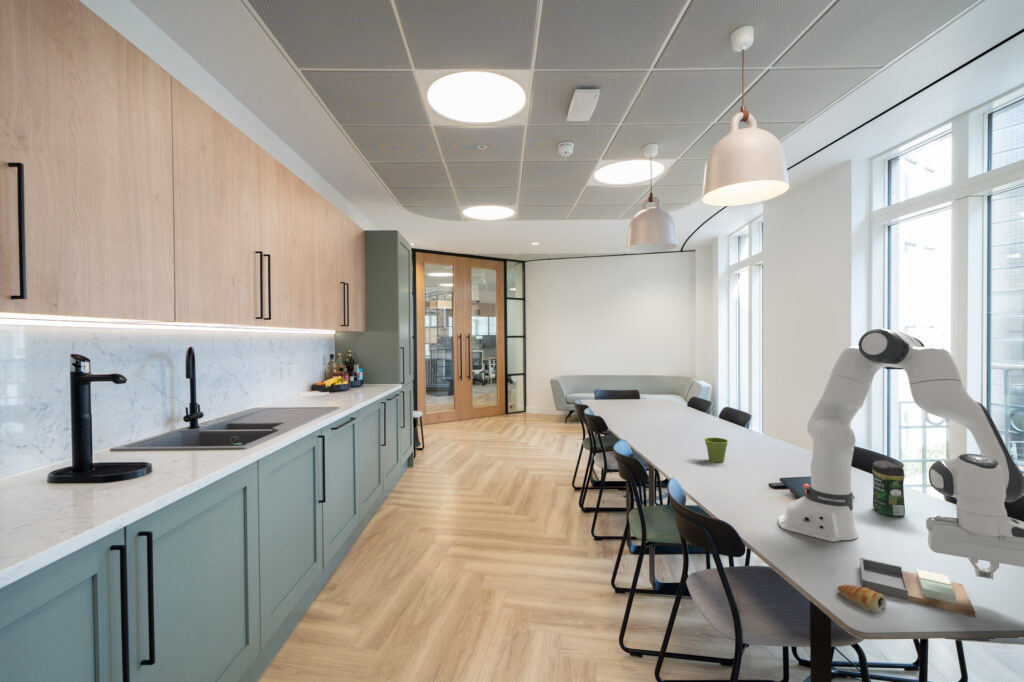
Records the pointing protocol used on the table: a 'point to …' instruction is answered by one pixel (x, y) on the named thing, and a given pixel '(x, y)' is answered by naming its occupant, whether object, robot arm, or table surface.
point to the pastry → (863, 597)
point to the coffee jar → (888, 488)
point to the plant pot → (716, 449)
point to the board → (915, 595)
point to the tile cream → (932, 577)
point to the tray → (883, 578)
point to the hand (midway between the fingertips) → (984, 576)
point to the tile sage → (937, 591)
